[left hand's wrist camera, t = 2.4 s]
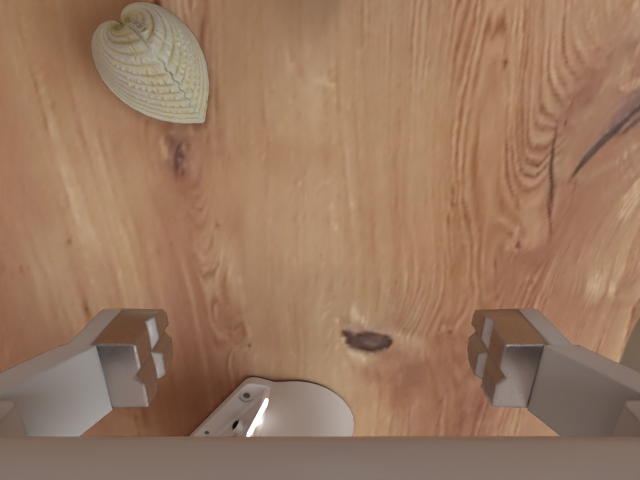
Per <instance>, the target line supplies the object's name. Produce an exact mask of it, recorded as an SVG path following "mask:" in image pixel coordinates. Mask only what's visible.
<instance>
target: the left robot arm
mask: <svg viewBox="0 0 640 480" xmlns="http://www.w3.org/2000/svg"><path fill="white" fill-rule="evenodd" d="M168 324H169V323H168V318H167V314H166V312H165V311H164V310H163V309H124V308H114V309H103V310H101V311H100V312H99V314H98V315H97V316H96V317H95V318H94V319H93V320H92V321H91V322H90V323H89V324H88V325H87V326H86V327H85V328H84V329H83V330H82V331H81V332H80V333H79V334H78V335H77V336H76V337H75V338H74V339H73V340H72V341H71V342H70V343H69V344H68V345H60V346H58V347H56V348H54V349H52V350H49V351H47V352H45V353H43V354H41V355H38V356H36V357H34V358H32V359H30V360H27V361H25V362H23V363H21V364H19V365H16V366H14V367H12V368H10V369H7V370H5V371H3V372H1V373H0V480H640V373H639V372H637V371H635V370H632V369H630V368H628V367H626V366H624V365H621V364H619V363H617V362H615V361H613V360H610V359H608V358H606V357H604V356H602V355H599V354H597V353H595V352H593V351H591V350H588V349H586V348H584V347H582V346H580V345H572V344H571V343H570V342H569V341H568V340H567V339H566V338H565V337H564V336H563V335H562V334H561V333H560V332H559V331H558V330H557V329H556V328H555V327H554V326H553V325H552V324H551V323H550V322H549V321H548V320H547V319H546V317H545V316H544V315H543V314H542V313H541V312H540V311H539V310H537V309H534V308H525V309H494V310H475V312H474V314H473V318H472V323H471V324H472V326H473V327H474V329H475V330H476V331H475V332H474V333H473V334H472V335H471V336H470V337H469V341H468V360H469V363H470V366H471V369H472V371H473V373H474V374H475V375H476V376H478V377H479V378H481V379H482V384H481V388H482V390H483V391H484V393H485V395H486V397H487V399H488V401H489V402H490V404H491V406H492V407H511V408H528V409H527V410H529V411H530V412H531V413H532V414H534V415H535V416H536V417H537V418H539V419H540V420H541V421H542V422H544V423H545V424H546V425H547V426H549V427H550V428H551V429H552V430H554V431H555V432H556V433H557V434H559V435H560V436H393V437H352V435H353V430H354V420H353V416H352V413H351V411H350V409H349V407H348V406H347V404H346V403H345V402H344V401H343V400H342V399H341V398H340V397H339V396H338V395H337V394H335V393H334V392H332V391H331V390H329V389H327V388H325V387H322V386H320V385H317V384H313V383H308V382H301V381H286V382H273V381H270V380H266V379H262V378H257V377H250V378H247V379H245V380H244V381H243V382H242V383H241V384H240V385H239V386H238V387H237V388H236V389H235V390H234V391H233V392H232V393H231V394H230V395H229V396H228V397H227V398H226V399H225V400H224V401H223V402H222V403H221V404H220V405H219V406H218V407H217V408H216V409H215V410H214V411H213V412H212V413H211V414H210V415H209V416H208V417H207V418H206V419H205V420H204V421H203V422H202V423H201V424H200V425H199V426H198V427H197V428H196V429H195V430H194V431H193V432H192V433H191V434H190V435H189V436H80V435H81V434H83V433H84V432H85V431H86V430H88V429H89V428H90V427H91V426H93V425H94V424H95V423H97V422H98V421H99V420H100V419H102V418H103V417H104V416H105V415H107V414H108V413H109V412H110V411H112V408H129V407H148V406H149V404H150V402H151V401H152V399H153V397H154V395H155V393H156V391H157V390H158V388H159V384H158V379H159V378H161V377H162V376H164V375H165V374H166V373H167V371H168V369H169V367H170V363H171V359H172V341H171V337H170V336H169V335H168V334H167V333H166V332H165V331H164V330H165V329H166V327H167V326H168ZM246 393H249V394H246Z"/></svg>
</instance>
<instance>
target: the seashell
mask: <svg viewBox="0 0 640 480" xmlns="http://www.w3.org/2000/svg"><path fill="white" fill-rule="evenodd" d="M120 19H121V23H119V22H117V21H114V20H107V21H105V22H102V23H101V24H100V25H99V26H98V27H97V28H96V30H95V32H94V34H93V37H92V43H91V49H92V56H93V60H94V63H95V66H96V68H97V70H98V72H99V74H100V76H101V78H102V80H103V81H104V83H105V84H106V85H107V86H108V87H109V89H110V90H111V91H112V92H113V93H114V94H115V95H116V96H117V97H118V98H119V99H120V100H121V101H123V102H124V103H125V104H127V105H128V106H130V107H131V108H133V109H135V110H136V111H138V112H141V113H143V114H145V115H147V116H150V117H152V118H156V119H159V120H163V121H168V122H173V123H203V122H204V121H205V116H206V110H207V101H208V94H209V79H208V71H207V66H206V61H205V58H204V55H203V52H202V50H201V48H200V46H199V44H198V42H197V40H196V38H195V36H194V35H193V34H192V32H191V31H190V30H189V28H188V27H187V26H186V25H185V24H184V23H183V22H182V21H181V20H180V19H179V18H178V17H177V16H175V15H174V14H173V13H172V12H170V11H169V10H167V9H165V8H163V7H161V6H159V5H156V4H153V3H149V2H135V3H131V4H129V5H127V6H125V7H124V8H123V10H122V11H121V14H120Z"/></svg>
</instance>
